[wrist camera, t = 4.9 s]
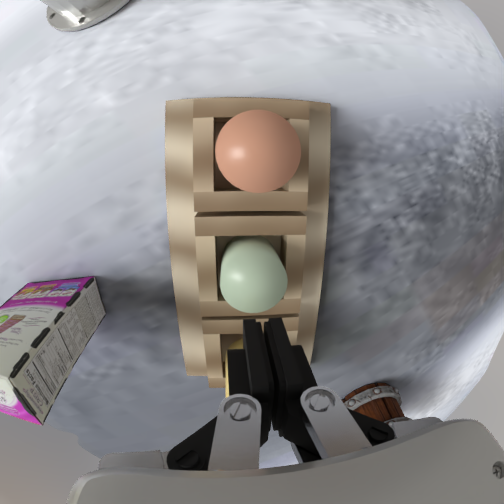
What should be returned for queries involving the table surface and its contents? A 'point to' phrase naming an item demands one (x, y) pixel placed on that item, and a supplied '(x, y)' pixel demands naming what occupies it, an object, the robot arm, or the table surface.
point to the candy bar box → (44, 342)
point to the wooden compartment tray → (242, 225)
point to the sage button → (252, 274)
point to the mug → (377, 403)
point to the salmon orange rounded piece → (258, 151)
